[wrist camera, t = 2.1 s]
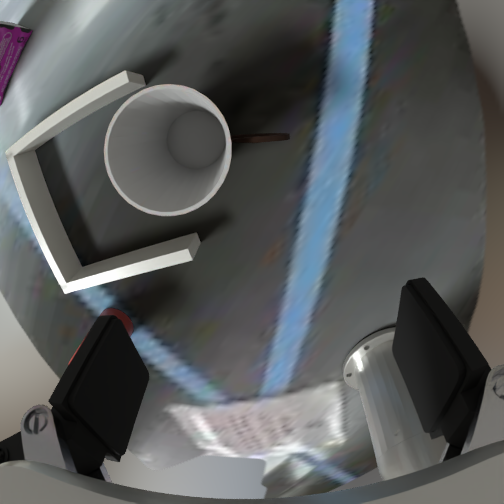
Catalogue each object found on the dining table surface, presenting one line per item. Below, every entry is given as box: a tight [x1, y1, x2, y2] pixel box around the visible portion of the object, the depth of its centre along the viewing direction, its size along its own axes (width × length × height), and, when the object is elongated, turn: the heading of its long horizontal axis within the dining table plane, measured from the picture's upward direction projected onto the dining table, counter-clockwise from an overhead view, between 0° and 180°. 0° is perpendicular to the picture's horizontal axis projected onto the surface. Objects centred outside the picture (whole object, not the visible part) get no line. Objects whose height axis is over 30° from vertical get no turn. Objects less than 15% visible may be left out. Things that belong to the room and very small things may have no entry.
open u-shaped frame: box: [5, 70, 201, 293], centre depth 26 cm, size 17×18×4 cm
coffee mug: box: [104, 84, 290, 216], centre depth 22 cm, size 12×9×10 cm
